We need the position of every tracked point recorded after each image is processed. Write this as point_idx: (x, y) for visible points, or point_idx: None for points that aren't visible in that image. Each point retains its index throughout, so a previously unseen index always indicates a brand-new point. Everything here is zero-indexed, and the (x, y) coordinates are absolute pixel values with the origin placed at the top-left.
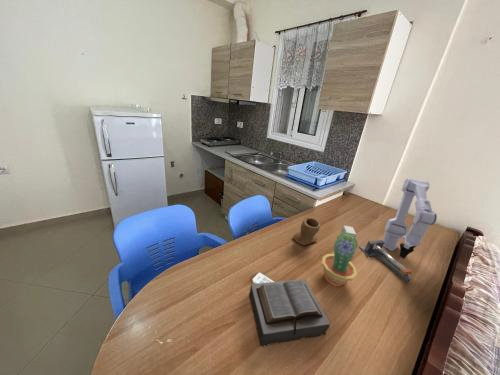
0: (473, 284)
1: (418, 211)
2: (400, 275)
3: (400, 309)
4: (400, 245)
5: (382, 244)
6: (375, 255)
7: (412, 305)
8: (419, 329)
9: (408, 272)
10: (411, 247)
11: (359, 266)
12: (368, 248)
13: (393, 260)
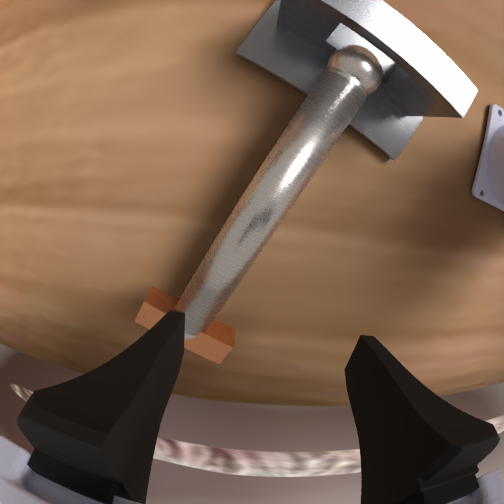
0: None
1: None
2: None
3: (4, 297)
4: (26, 403)
5: (436, 104)
6: (295, 86)
7: (56, 332)
8: (5, 340)
9: None
10: (368, 434)
11: (62, 67)
12: (280, 8)
13: (226, 237)
